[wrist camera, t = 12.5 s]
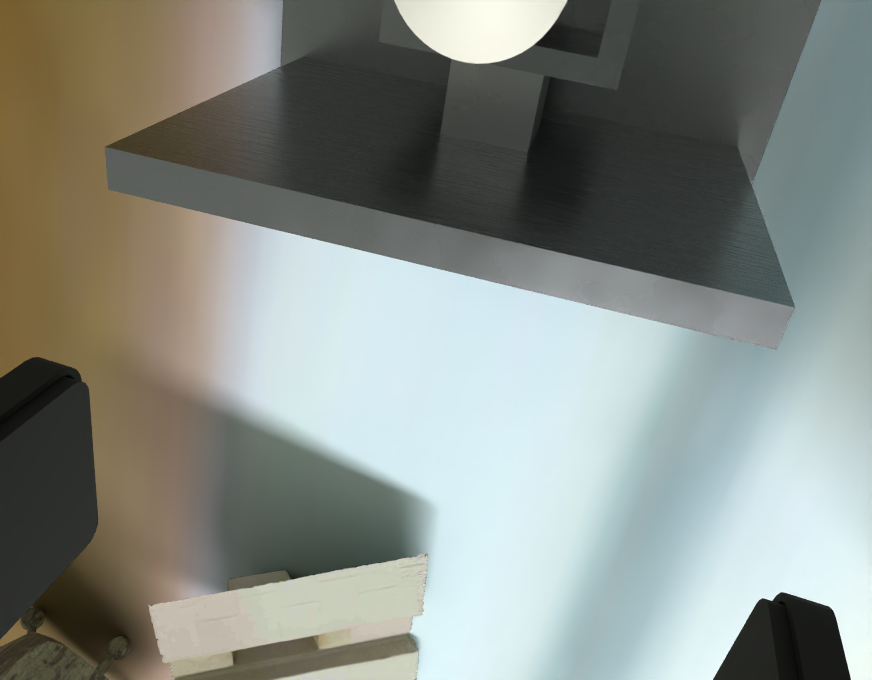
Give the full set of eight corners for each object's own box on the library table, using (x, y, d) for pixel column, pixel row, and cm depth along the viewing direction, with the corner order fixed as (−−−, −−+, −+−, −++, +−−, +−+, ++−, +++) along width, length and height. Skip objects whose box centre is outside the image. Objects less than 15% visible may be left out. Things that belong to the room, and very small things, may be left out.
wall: (370, 444, 49) (120, 524, 43) (433, 552, 43) (155, 662, 37) (365, 589, 59) (164, 670, 53) (415, 692, 53) (196, 794, 47)
